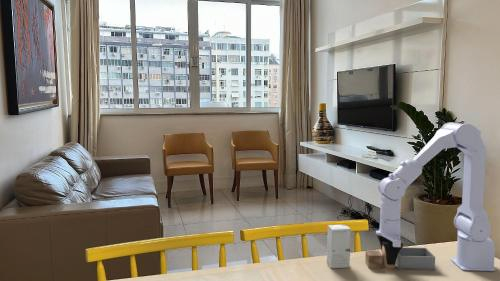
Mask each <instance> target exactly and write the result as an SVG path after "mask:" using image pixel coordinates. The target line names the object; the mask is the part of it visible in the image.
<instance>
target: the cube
mask: <svg viewBox="0 0 500 281" xmlns="http://www.w3.org/2000/svg"><path fill="white" fill-rule="evenodd" d="M364 259H365V260H364V262H365V265H366V266H367V268H368V269H383V266H382V252H381V251H380V250H375V249H373V250H372V249H371V250H368V249H365V258H364Z"/></svg>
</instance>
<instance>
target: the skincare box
mask: <svg viewBox="0 0 500 281" xmlns="http://www.w3.org/2000/svg"><path fill="white" fill-rule="evenodd" d="M351 232H352V230H351V228H350V227H349V226H348V225H347V224H334V225H333V224H329V225H327V235H326V236H327V238H326V239H327V240H326V241H327V242H326V264H327V265H328V266H329V268H330V269H343V268H344V269H346V268H347V269H348V268H350V266H351V263H350V262H351V260H350V259H351V257H350V256H351V236H352V234H351Z"/></svg>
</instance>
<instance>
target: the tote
mask: <svg viewBox="0 0 500 281" xmlns="http://www.w3.org/2000/svg"><path fill="white" fill-rule="evenodd" d="M396 266H397V267H398V269H399V270H422V271H423V270H424V271H427V270H429V271H435V270H436V256H435V255H434V254H433V253H432V252H431V251H430V250H428V248H426V247H408V246H407V247H405V246H403V247H402V248H401V250H400V251H399V253H398V256H397V259H396Z"/></svg>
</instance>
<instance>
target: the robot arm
mask: <svg viewBox="0 0 500 281" xmlns="http://www.w3.org/2000/svg"><path fill="white" fill-rule="evenodd" d="M481 133H482V132H481V130H480V129H478V128H477V127H475V126H474V125H473V124H470V123H459V122H451V121H449V122H447V123H445V124H443V125H442V126H441V128H439V129H438V130H436V132H435V134H434V136H433V137H432V138H431V139H430V140H429V141H428V142H427V143H426V144H425V145H424V146H423V147H422V148H421V149H420V151H419V152H418V153H417V154H416V155H415V156H414V157H413V159H412V158H411V159H410V158H409V159H408V158H407V159H405V161H404V160H402V161H401V162H400V163H399V166H398V167H396V169H395V170H394V171H393V172H390V173H389V174H388V176H387V177H384V178H383V179H381V180H380V182H379V185H378V186H377V189H378V191H379V193H380V195H381V196H380V208H379V209H380V211H379V212H380V215H379V218H380V219H379V229H378V230H375V234H376V238H377V240H378V241H379V246H380V252H382V245H384V248H385V252H386V261H387V264H388V265H395V262H396V259H397V256H398V253H399V251H400V250H401V248H402V247H404V243H402V240H401V210H402V209H401V208H402V198H403V197H404V196H405V193H406V189H407V188H408V187H409V186H410V185H411V184H412V183H413V182H414V181H415V180H416V179H417V178H418V177H419V176H421V175H422V173H423V167H424V166H425V165H426V164H428V162H430V161H431V160H432V159H433V158H434V157H436V155H437V156H438V154H439V153H440V152H442V150H444V149H451V148H457V149H458V150H460V151H461V152H462V153H463V156H464V157H463V173H462V174H463V177H462V178H463V180H462V196H461V198H462V200H461V204H460V206H458V207H457V209H456V210H457V211H456V215H455V216H454V218H453V225H454V227H455V228H456V229H457V238H456V240H457V241H456V242H457V243H456V257H450V260H451V261H452V262H453V263H454V264H455V265H456V266H457V267H458V268H460V269H461V270H462V271H477V272H478V271H481V272H482V271H483V272H495V271H496V268H495V258H496V257H495V254H496V247H495V243H494V241H493V239H492V238H490V236H491V233H492V226H491V224H490V222H489V219H490V218H489V215H488V213H487V211H486V210H485V209H484V197H485V196H484V195H485V192H484V191H485V179H486V178H485V176H486V175H485V174H486V157H487V156H486V154H487V148H486V145H485V143H484V141H483V139H482V137H481Z"/></svg>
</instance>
